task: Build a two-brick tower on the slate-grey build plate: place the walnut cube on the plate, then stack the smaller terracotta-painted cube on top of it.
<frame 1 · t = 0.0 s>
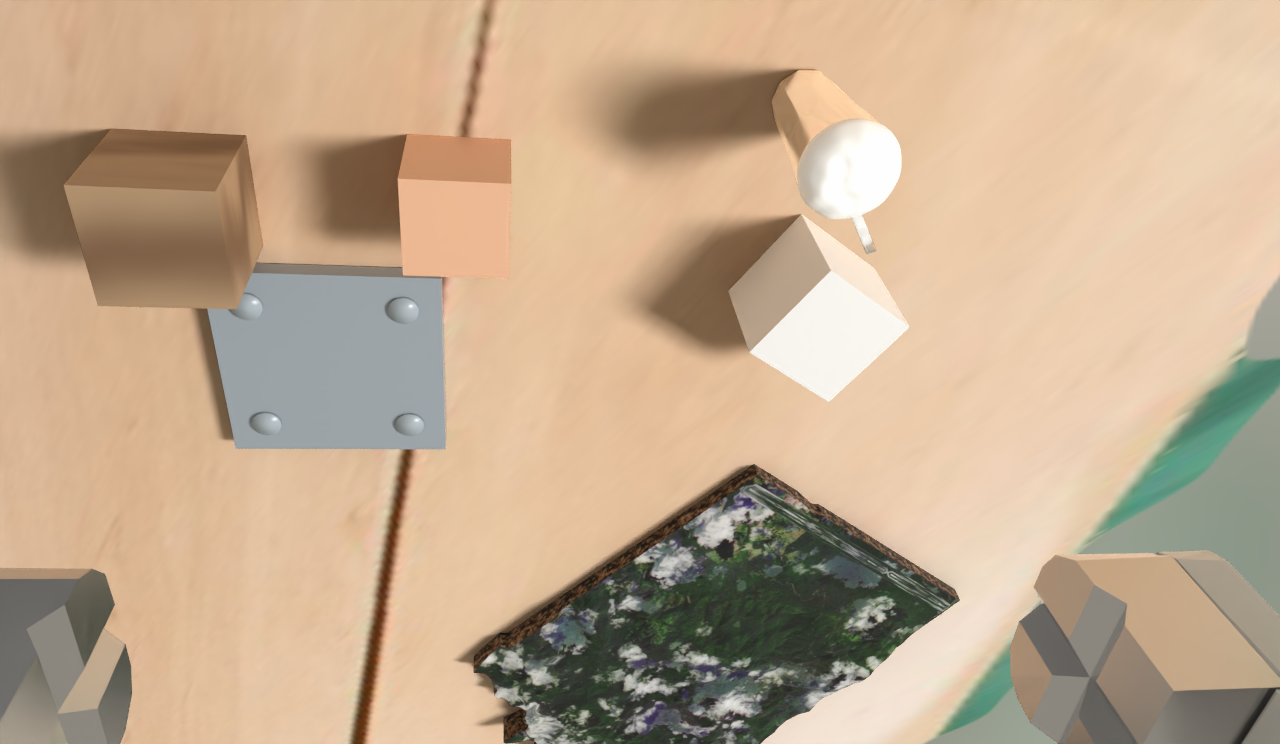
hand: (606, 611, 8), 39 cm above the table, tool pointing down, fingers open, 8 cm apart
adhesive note: (800, 277, 53), on the table
build plate: (335, 357, 53), on the table
topographical map: (687, 635, 73), on the table
block a: (191, 189, 46), on the table
milkshake: (803, 106, 47), on the table
block b: (460, 183, 47), on the table
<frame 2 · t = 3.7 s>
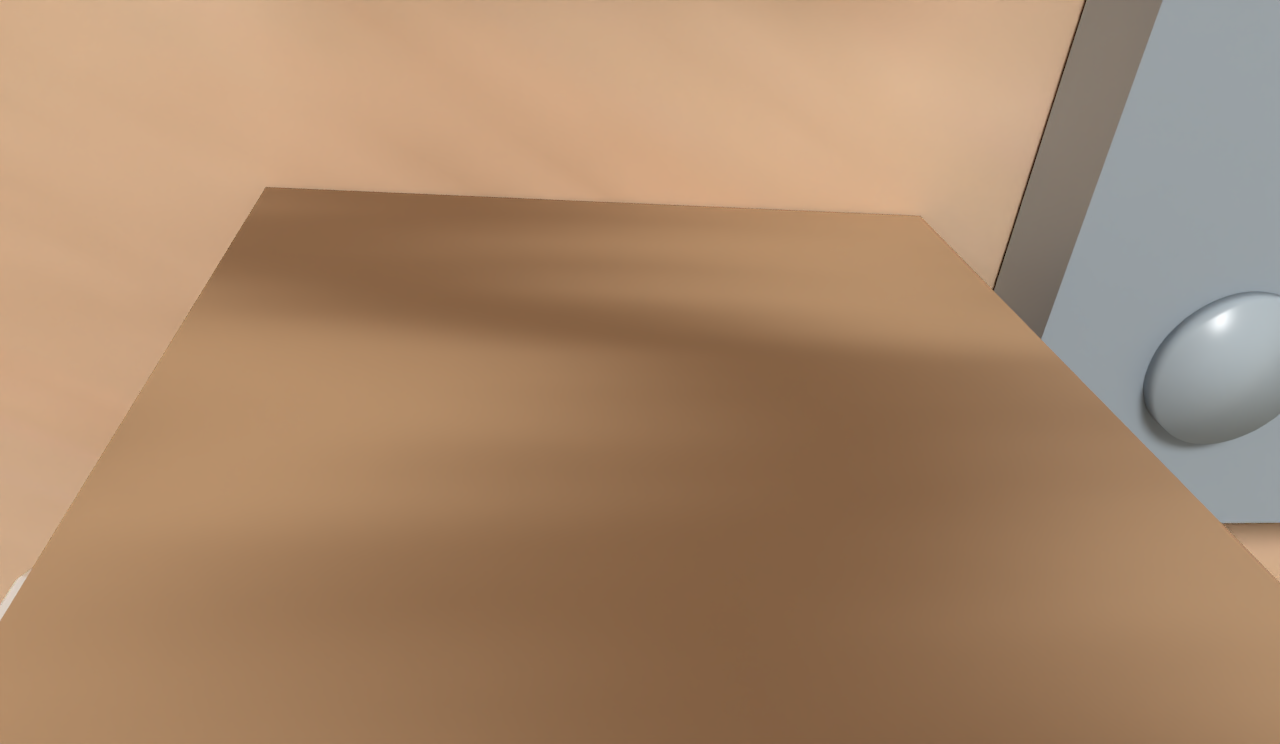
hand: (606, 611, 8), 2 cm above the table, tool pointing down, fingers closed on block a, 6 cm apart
block a: (589, 466, 10), on the table, touching gripper
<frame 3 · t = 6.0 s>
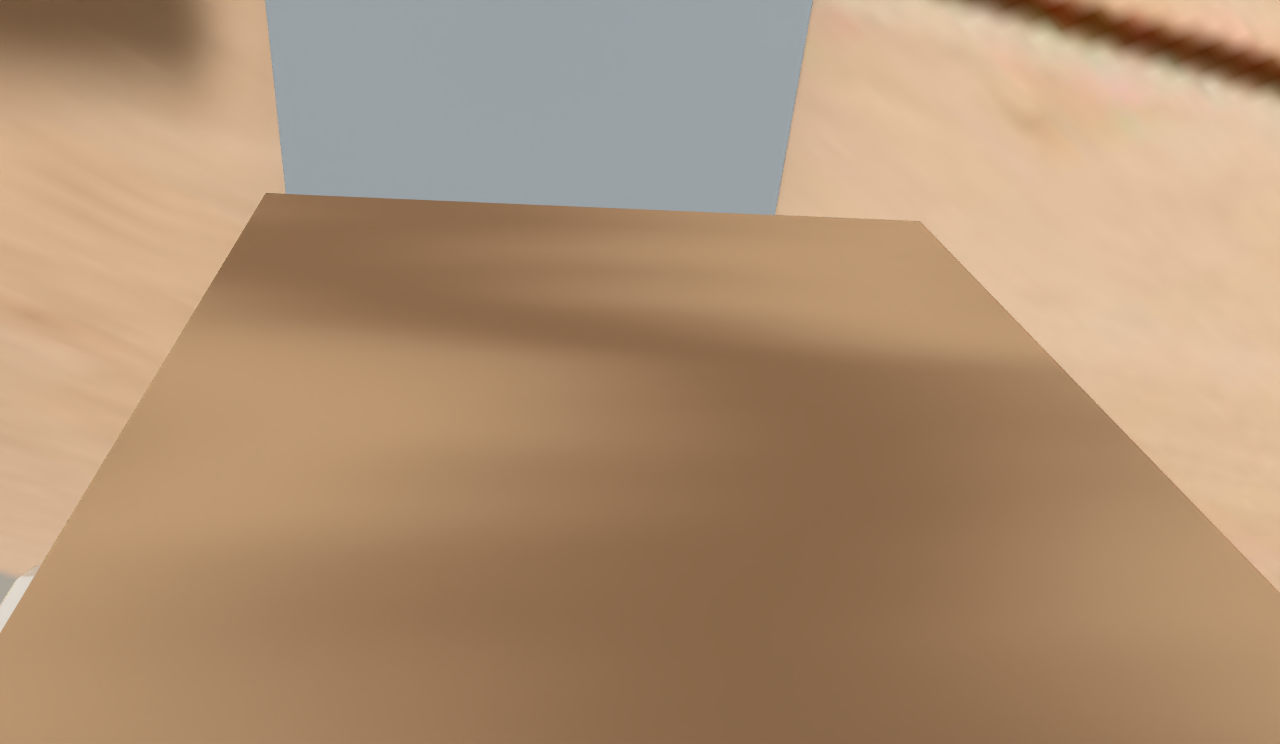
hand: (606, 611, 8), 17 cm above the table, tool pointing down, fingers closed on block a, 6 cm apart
build plate: (542, 90, 23), on the table
block a: (589, 470, 10), point 15 cm above the table, touching gripper
when the fingers open (5 cm above the table, at t = 8.7 s): block a drops 1 cm, resting on build plate.
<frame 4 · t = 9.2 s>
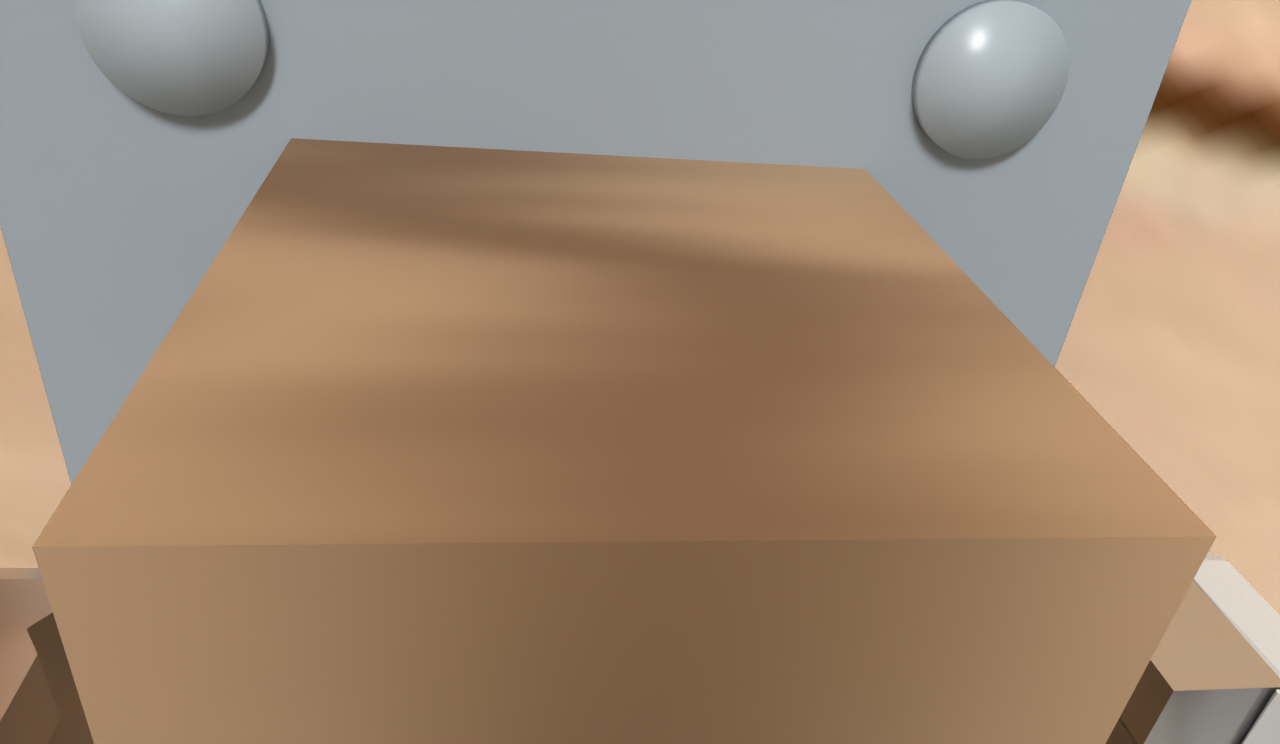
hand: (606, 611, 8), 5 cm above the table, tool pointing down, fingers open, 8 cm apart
build plate: (577, 352, 12), on the table
block a: (574, 396, 11), point 1 cm above the table, touching build plate
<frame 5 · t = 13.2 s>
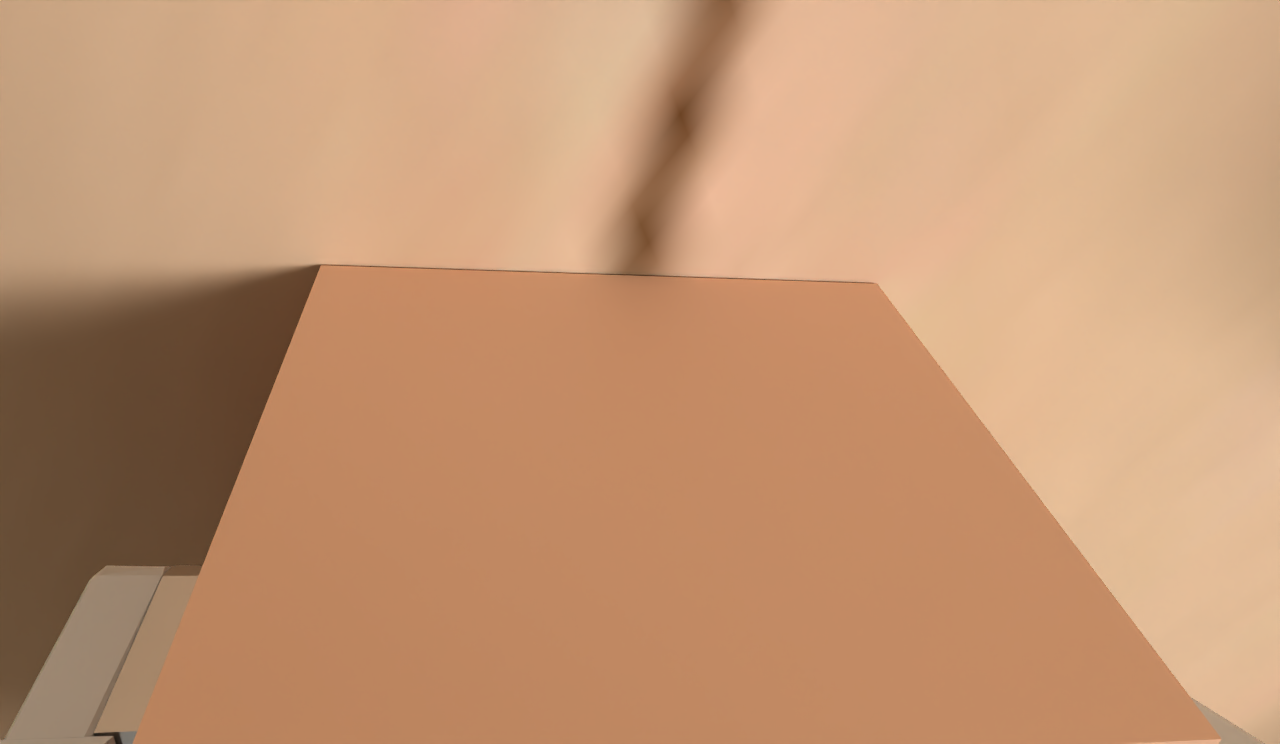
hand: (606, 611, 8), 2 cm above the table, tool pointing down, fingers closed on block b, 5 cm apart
block b: (592, 494, 10), on the table, touching gripper
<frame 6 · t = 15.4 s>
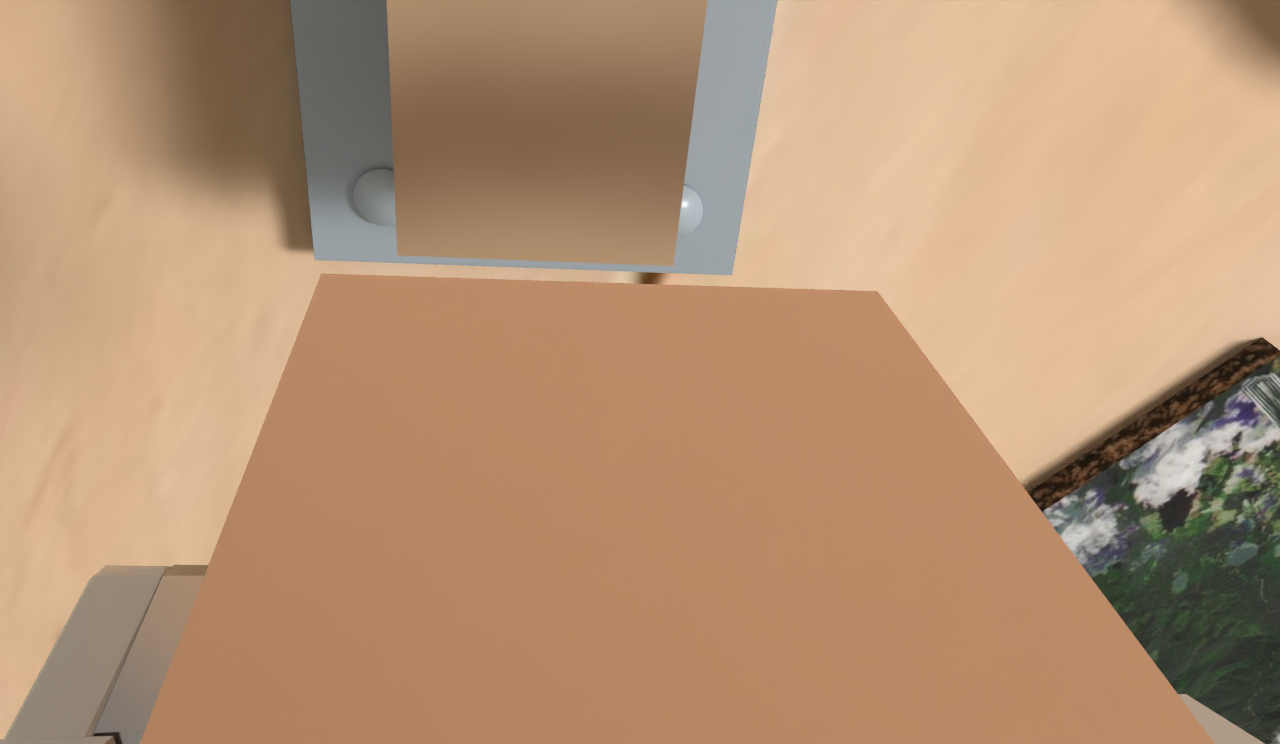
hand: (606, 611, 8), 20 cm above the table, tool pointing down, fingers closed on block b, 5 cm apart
build plate: (537, 46, 25), on the table
topographical map: (1035, 681, 43), on the table
block a: (537, 51, 24), point 1 cm above the table, touching build plate
block b: (593, 501, 10), point 18 cm above the table, touching gripper
when the fingers open (10 cm above the table, at t = 17.6 s): block b stays where it is, resting on block a.
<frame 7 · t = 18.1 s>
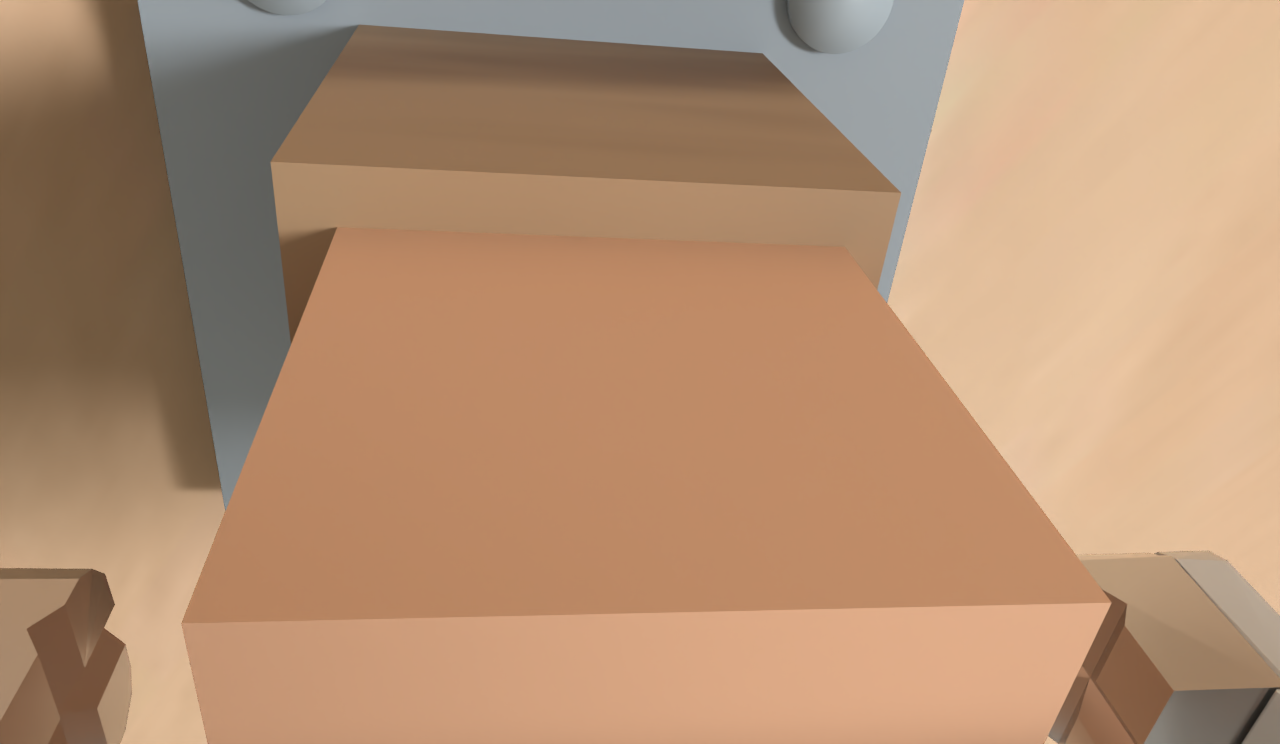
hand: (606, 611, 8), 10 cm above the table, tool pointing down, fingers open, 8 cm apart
build plate: (556, 210, 16), on the table
block a: (557, 227, 15), point 1 cm above the table, touching block b, build plate
block b: (585, 444, 10), point 7 cm above the table, touching block a
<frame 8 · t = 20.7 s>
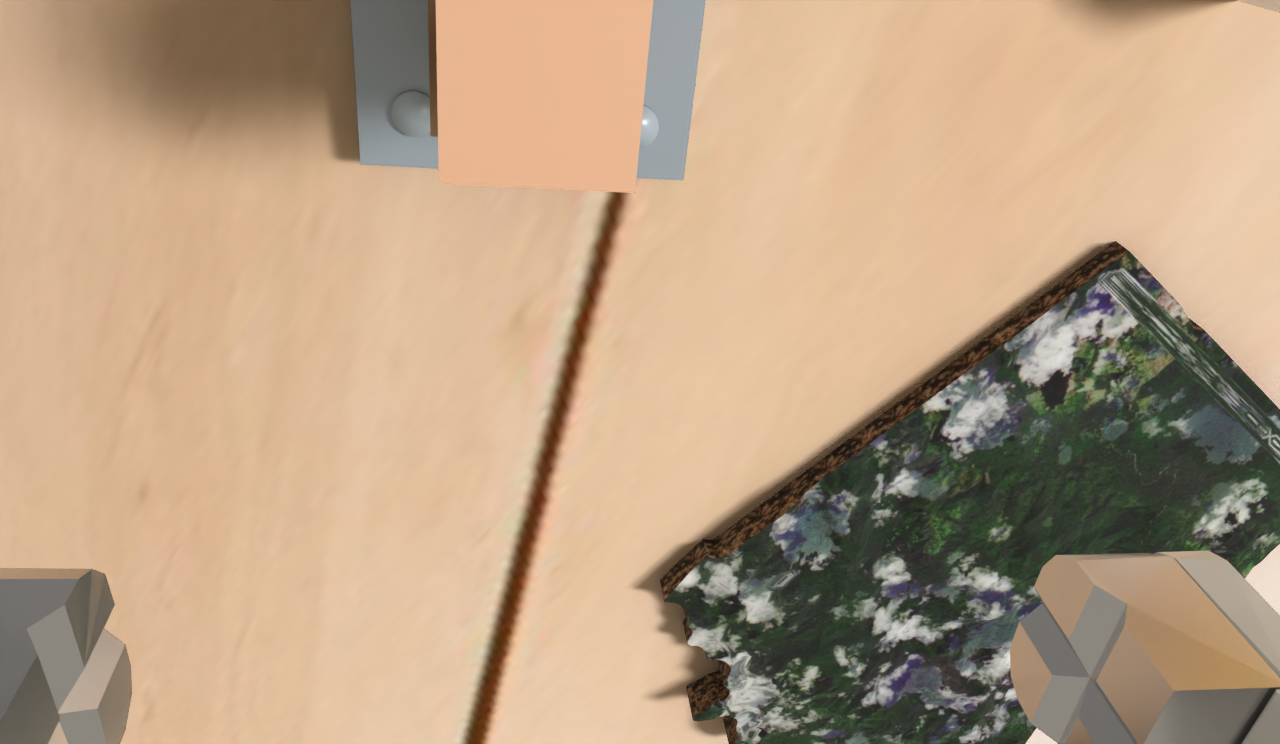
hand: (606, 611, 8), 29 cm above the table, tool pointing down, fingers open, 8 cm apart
topographical map: (955, 554, 51), on the table
block a: (530, 0, 32), point 1 cm above the table, touching block b, build plate
block b: (536, 43, 27), point 7 cm above the table, touching block a
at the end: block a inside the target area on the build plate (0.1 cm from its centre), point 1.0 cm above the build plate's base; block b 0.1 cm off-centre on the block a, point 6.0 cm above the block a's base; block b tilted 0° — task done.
